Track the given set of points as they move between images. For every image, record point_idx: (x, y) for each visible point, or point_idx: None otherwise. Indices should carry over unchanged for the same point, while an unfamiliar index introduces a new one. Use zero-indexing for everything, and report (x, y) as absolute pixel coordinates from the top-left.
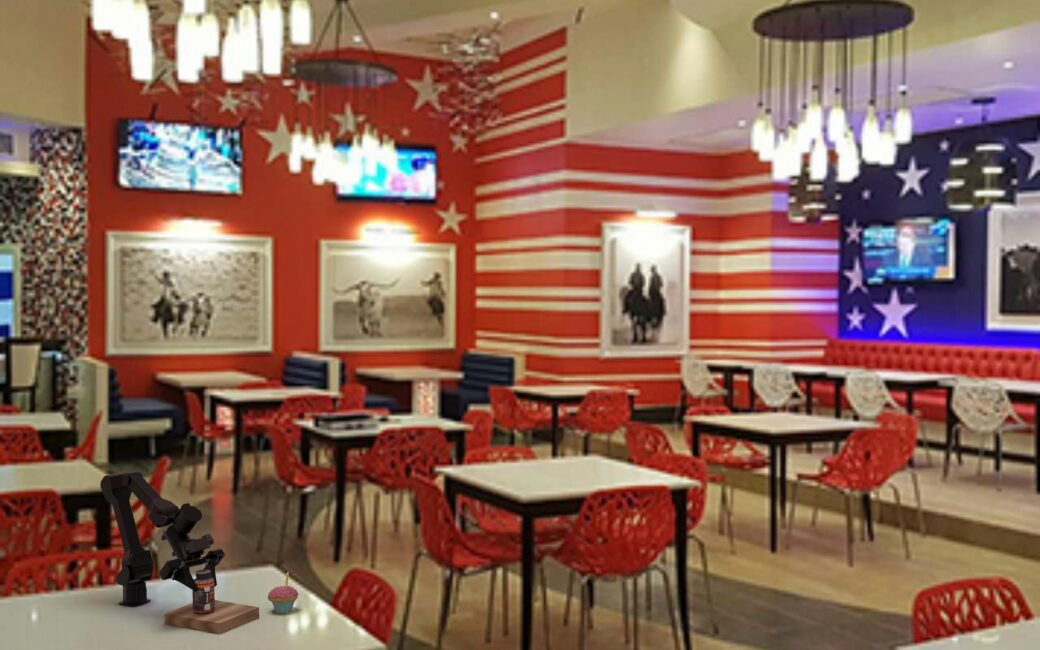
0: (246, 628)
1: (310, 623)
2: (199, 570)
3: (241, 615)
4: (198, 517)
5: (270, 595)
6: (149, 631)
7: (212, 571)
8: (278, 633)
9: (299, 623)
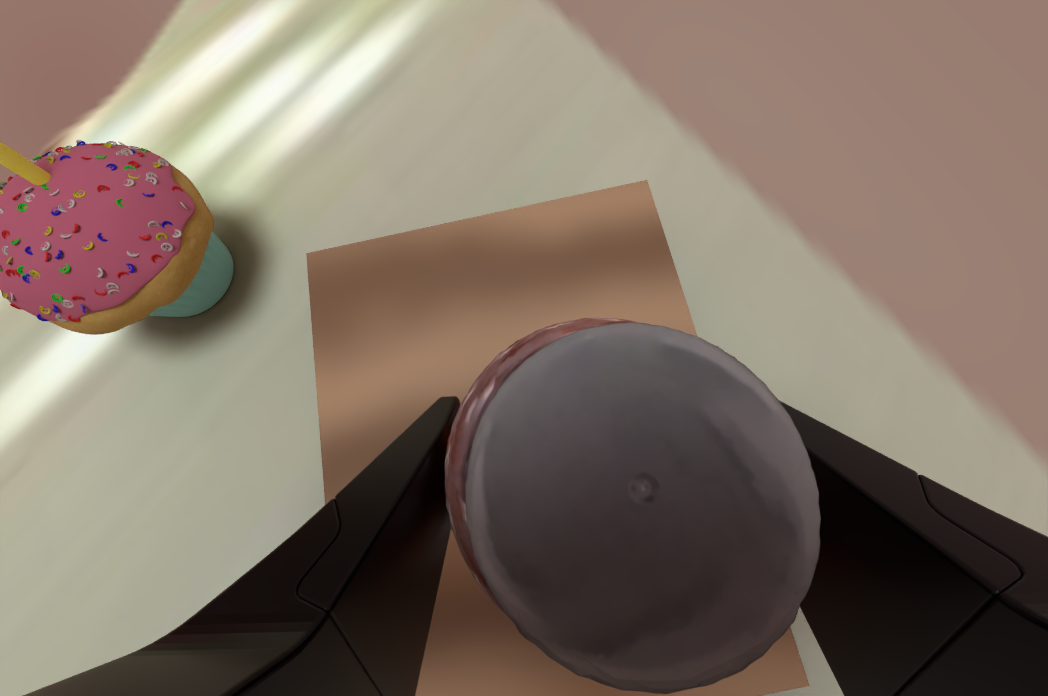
0: (491, 194)
1: (282, 54)
2: (658, 656)
3: (461, 224)
4: None
5: (168, 241)
6: None
7: (359, 533)
8: (453, 47)
9: (306, 84)
